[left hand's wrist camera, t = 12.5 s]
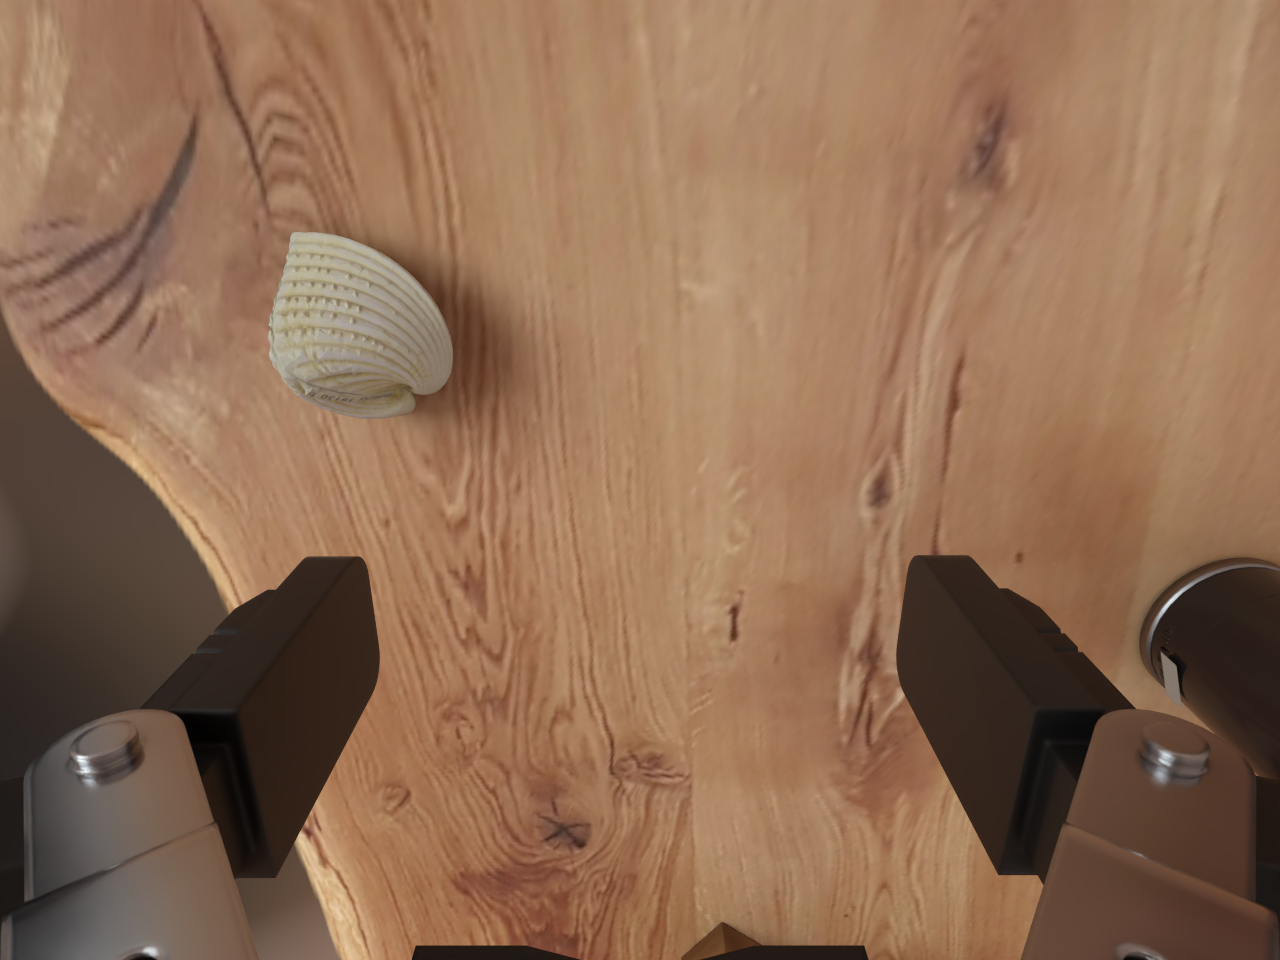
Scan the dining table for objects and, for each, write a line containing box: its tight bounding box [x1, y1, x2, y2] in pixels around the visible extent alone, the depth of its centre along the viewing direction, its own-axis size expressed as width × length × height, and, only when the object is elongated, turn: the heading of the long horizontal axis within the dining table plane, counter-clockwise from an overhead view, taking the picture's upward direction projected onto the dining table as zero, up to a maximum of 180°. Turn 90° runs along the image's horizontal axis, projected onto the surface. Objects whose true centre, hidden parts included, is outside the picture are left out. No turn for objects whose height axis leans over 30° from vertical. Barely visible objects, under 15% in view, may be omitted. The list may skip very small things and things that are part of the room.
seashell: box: [269, 232, 453, 419], centre depth 37 cm, size 8×8×8 cm
